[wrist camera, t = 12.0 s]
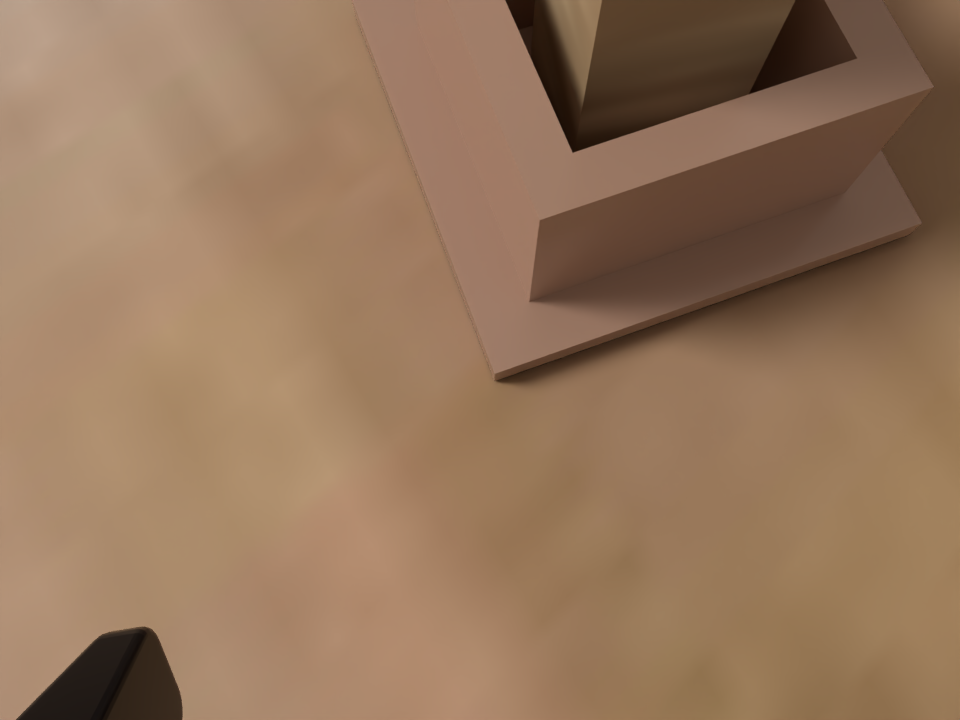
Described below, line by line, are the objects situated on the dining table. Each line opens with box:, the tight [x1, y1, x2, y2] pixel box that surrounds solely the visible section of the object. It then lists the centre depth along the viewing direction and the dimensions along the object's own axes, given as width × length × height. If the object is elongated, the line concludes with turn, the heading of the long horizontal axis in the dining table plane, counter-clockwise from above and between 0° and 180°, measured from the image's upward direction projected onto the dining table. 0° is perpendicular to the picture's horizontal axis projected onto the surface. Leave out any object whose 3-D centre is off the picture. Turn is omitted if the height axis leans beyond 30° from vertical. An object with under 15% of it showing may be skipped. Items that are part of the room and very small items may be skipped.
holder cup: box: [352, 0, 934, 381], centre depth 18 cm, size 10×10×5 cm
